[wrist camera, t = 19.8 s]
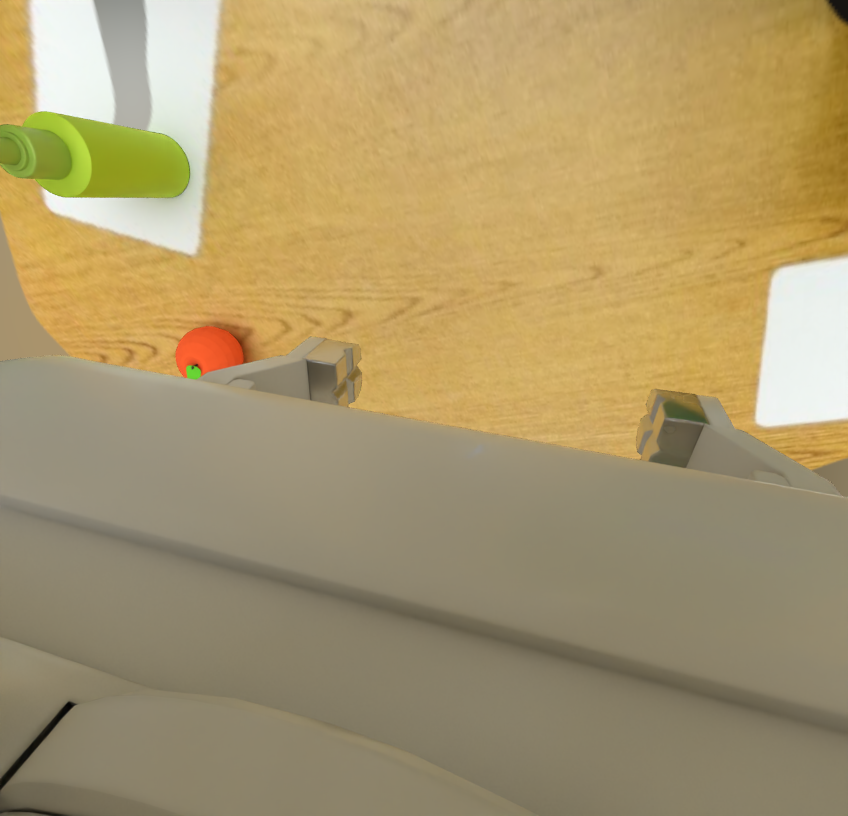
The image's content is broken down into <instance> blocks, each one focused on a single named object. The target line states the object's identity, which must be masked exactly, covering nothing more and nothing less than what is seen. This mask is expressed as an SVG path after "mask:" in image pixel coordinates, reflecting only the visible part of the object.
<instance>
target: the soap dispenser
mask: <svg viewBox="0 0 848 816" xmlns="http://www.w3.org/2000/svg"><path fill="white" fill-rule="evenodd" d="M0 165H1V167H2V168H3V169H4V170H5V171H7V172H8V173H9V174H11V175H13V176H15V177H18V178H25V179H35V180H36V181H37V182H38V183H39V184H40V185H41V186H42V187H43V188H44V189H46V190H47V191H49V192H51V193H52V194H55V195H57V196H61V197H94V198H171V197H175V196H178V195H179V194H181V193H182V192H183V191H184V190H185V188H186V187H187V184H188V182H189V176H190V169H189V164H188V160H187V157H186V155H185V153H184V151H183V150H182V148H181V147H180V146H179V145H178V144H177V143H176V142H175V141H174V140H173V139H172V138H170V137H168V136H166V135H164V134H160V133H155V132H149V131H144V130H139V129H134V128H128V127H124V126H119V125H114V124H109V123H103V122H98V121H93V120H88V119H83V118H78V117H73V116H68V115H63V114H57V113H52V112H37V113H34V114H32V115H31V116H29V117H28V118H27V119H26V120H25V122H24V123H23V125H22V126H16V125H9V124H5V125H0Z"/></svg>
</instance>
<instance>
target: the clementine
mask: <svg viewBox="0 0 848 816" xmlns="http://www.w3.org/2000/svg"><path fill="white" fill-rule="evenodd" d="M243 360H244V357H243V351H242V348H241V346H240V344H239V342H238V341H237V339H236V338H235V337H234V336H233V335H232V334H230V333H229V332H227V331H225V330H223V329H220V328H217V327H210V326H206V327H201V328H196V329H193V330H192V331H190V332H188V333H187V334H186V335H184V337H183V338H182V339H181V340H180V342H179V344H178V347H177V349H176V362H177V366H178V368H179V371H180V372H181V374H182V375H183V376H184V377H185V378H189V379H195V380H197V379H198V378H200V377H201V376H203V375H204V374H206V373H207V372H211V371H215V370H219V369H224V368H228V367H232V366H237V365H241V364H243Z"/></svg>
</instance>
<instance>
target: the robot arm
mask: <svg viewBox="0 0 848 816" xmlns="http://www.w3.org/2000/svg"><path fill="white" fill-rule="evenodd" d="M360 360H361V348H360V346H359V344H353V343H347V342H341V341H335V340H329V339H326V338H318V337H309V338H308V339H306V340H305V341H304V342H303V343H301V344H300V345H299V346H297V347H296V348H295V349H294V350H292V351H291V352H290V353H289V354H287V355H286V356H281V355H280V356H276V357H271V358H267V359H263V360H258V361H254V362H250V363H245V364H241V365H237V366H232V367H228V368H224V369H219V370H215V371H211V372H207V373H206V374H204V375H203V376H201V377H200V378H198V379H197V380H195V379H189V378H184V377H178V376H173V375H167V374H161V373H156V372H150V371H145V370H139V369H134V368H128V367H123V366H117V365H112V364H106V363H101V362H95V361H90V360H85V359H81V358H76V357H70V356H62V355H51V356H38V357H29V358H20V359H14V360H6V361H0V816H848V497H842V496H841V495H840V493H839V492H838V491H837V489H836V488H835V487H834V485H833V484H832V482H830V481H828V480H826V479H825V478H823V477H821V476H820V475H818V474H816V473H814V472H813V471H811V470H809V469H808V468H806V467H804V466H802V465H801V464H799V463H797V462H796V461H794V460H792V459H790V458H789V457H787V456H785V455H784V454H782V453H780V452H778V451H777V450H775V449H773V448H772V447H770V446H768V445H766V444H765V443H763V442H761V441H760V440H758V439H756V438H754V437H753V436H751V435H749V434H748V433H746V432H744V431H742V430H738V429H735V428H734V426H733V424H732V423H731V421H730V419H729V417H728V416H727V414H726V412H725V410H724V409H723V407H722V405H721V403H720V401H719V400H718V398H715V397H709V396H701V395H696V394H689V393H682V392H674V391H666V390H659V389H654V390H652V391H651V393H650V395H649V397H648V400H647V403H646V406H647V410H648V414H647V415H645V416H644V417H643V418H641V420H640V424H639V427H638V431H637V437H636V448H637V452H638V453H639V454H640V455H641V459H640V460H638V459H632V458H627V457H621V456H616V455H610V454H604V453H599V452H593V451H588V450H582V449H577V448H571V447H566V446H560V445H555V444H549V443H544V442H538V441H532V440H527V439H521V438H516V437H510V436H505V435H499V434H494V433H488V432H483V431H477V430H471V429H466V428H460V427H455V426H449V425H444V424H438V423H433V422H427V421H422V420H416V419H411V418H405V417H399V416H394V415H388V414H383V413H377V412H372V411H366V410H361V409H355V408H350V407H348V404H350V403H352V402H355V400H356V399H357V398H358V396H359V393H360V390H361V384H362V372H361V371H360V369H359V368H358V366H357V364H358V363H359V362H360Z"/></svg>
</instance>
